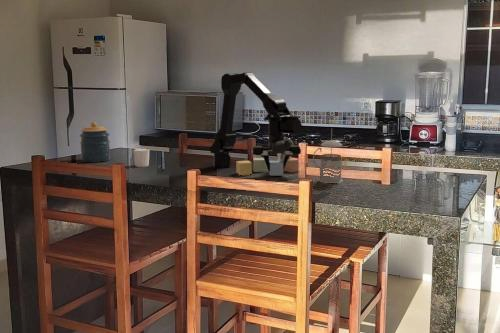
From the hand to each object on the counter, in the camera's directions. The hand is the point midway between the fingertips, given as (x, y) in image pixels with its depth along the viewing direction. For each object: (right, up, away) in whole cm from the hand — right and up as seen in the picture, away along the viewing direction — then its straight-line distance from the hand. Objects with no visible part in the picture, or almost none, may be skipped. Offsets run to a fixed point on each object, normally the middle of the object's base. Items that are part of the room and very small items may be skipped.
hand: (275, 171), depth 218 cm
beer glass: (+5, +4, +20) cm, 21 cm away
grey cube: (0, -1, 0) cm, 1 cm away
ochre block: (-13, -1, +4) cm, 13 cm away
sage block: (-6, 0, +11) cm, 12 cm away
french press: (+19, -4, -9) cm, 22 cm away
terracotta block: (+7, 0, +10) cm, 12 cm away
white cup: (-57, +2, +23) cm, 61 cm away
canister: (-81, +5, +36) cm, 88 cm away
